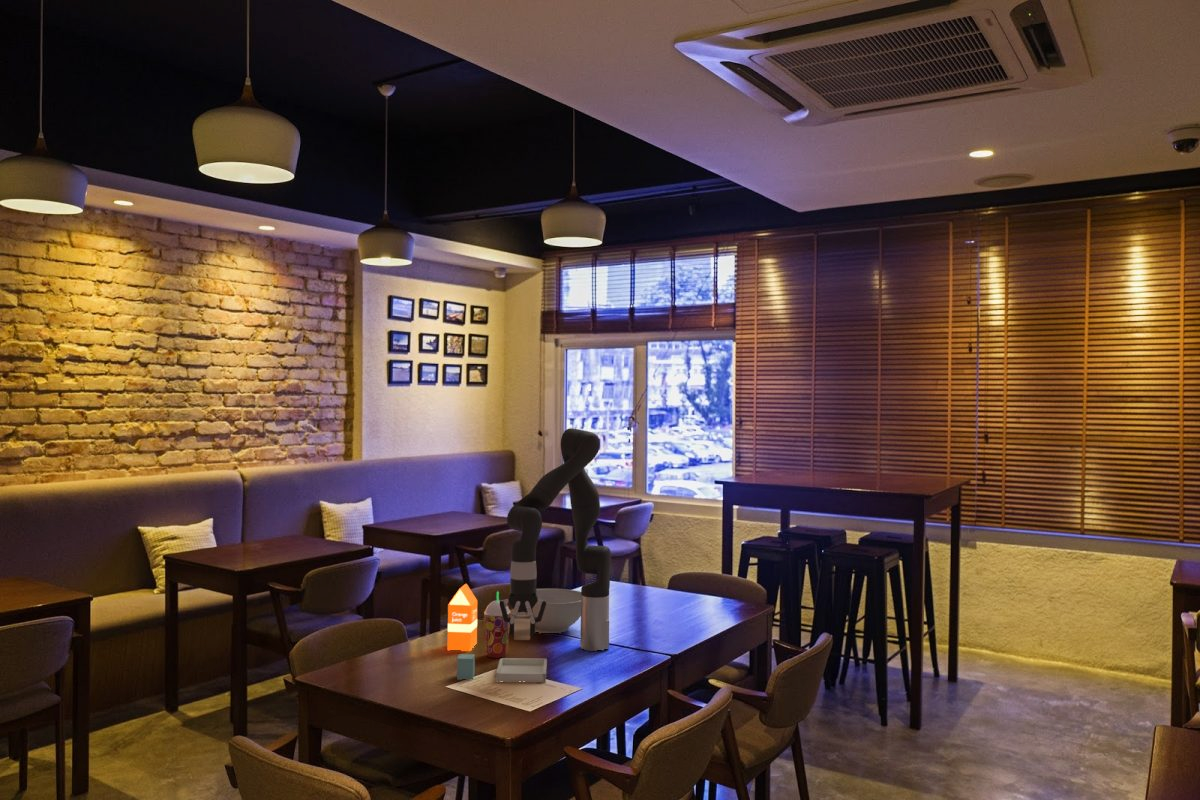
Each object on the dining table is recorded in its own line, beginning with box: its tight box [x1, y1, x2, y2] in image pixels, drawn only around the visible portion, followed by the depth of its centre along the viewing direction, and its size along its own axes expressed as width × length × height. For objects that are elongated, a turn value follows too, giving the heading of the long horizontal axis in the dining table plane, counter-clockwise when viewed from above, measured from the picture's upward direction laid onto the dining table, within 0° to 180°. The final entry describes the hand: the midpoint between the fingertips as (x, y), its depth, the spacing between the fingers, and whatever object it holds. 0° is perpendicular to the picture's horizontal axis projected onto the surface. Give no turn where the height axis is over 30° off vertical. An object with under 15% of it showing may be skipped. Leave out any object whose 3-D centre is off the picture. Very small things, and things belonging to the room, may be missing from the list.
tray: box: [495, 657, 548, 683], centre depth 257 cm, size 14×16×2 cm
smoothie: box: [483, 591, 512, 659], centre depth 276 cm, size 8×8×20 cm
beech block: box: [513, 614, 531, 641], centre depth 253 cm, size 4×4×6 cm
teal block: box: [456, 653, 476, 681], centre depth 253 cm, size 4×4×6 cm
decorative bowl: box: [517, 588, 581, 634], centre depth 311 cm, size 27×27×12 cm
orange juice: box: [446, 583, 478, 652], centre depth 286 cm, size 8×9×20 cm
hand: (522, 635), depth 253 cm, fingers closed on beech block, 4 cm apart
